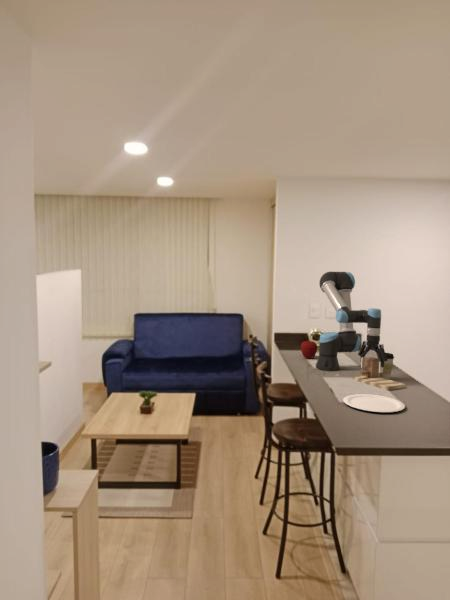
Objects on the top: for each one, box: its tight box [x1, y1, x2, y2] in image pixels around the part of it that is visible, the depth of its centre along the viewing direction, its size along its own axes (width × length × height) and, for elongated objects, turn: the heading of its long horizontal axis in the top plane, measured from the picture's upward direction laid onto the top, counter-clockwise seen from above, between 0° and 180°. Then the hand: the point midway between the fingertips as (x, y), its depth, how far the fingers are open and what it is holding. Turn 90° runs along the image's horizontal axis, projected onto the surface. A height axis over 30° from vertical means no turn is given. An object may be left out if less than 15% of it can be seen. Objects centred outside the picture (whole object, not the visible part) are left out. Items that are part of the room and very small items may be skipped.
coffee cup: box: [376, 352, 395, 380], centre depth 289 cm, size 10×10×15 cm
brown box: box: [359, 356, 380, 378], centre depth 283 cm, size 6×12×11 cm, turn 121°
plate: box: [342, 393, 406, 414], centre depth 235 cm, size 29×29×2 cm
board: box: [352, 374, 406, 391], centre depth 276 cm, size 26×14×2 cm, turn 31°
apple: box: [300, 340, 318, 360], centre depth 343 cm, size 12×12×13 cm
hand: (371, 370), depth 284 cm, fingers open, 13 cm apart
